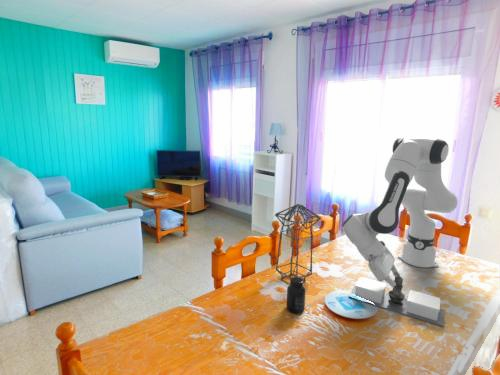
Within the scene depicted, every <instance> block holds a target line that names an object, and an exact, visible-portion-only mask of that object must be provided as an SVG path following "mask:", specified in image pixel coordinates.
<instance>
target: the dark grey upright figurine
mask: <svg viewBox="0 0 500 375" xmlns="http://www.w3.org/2000/svg"><path fill="white" fill-rule="evenodd" d="M400 275H401V274H399V275H398V276H396V277H395V276H394V279H393V280H394V281H395V282H396V286H394V287H392V290H389V291H388V294H389V297H390V299H389V300H388V302H389V303H390V304H391V305H393V306H397V307H400V306H403V303H402V302H401V301H403V299H404V298H406V295H405V294H404V293H403V292H402V291H403V288H404V285H403V281H404V280H403V277H401V276H400Z"/></svg>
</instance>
